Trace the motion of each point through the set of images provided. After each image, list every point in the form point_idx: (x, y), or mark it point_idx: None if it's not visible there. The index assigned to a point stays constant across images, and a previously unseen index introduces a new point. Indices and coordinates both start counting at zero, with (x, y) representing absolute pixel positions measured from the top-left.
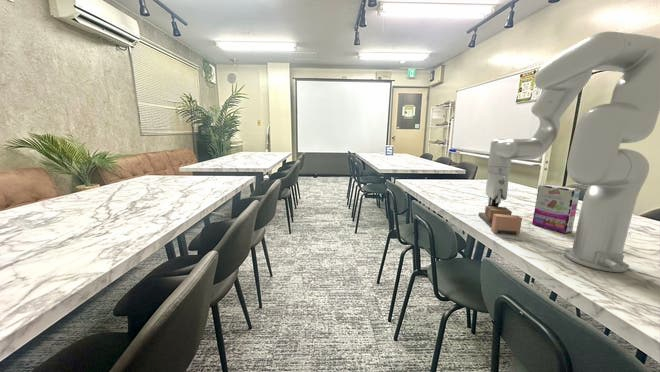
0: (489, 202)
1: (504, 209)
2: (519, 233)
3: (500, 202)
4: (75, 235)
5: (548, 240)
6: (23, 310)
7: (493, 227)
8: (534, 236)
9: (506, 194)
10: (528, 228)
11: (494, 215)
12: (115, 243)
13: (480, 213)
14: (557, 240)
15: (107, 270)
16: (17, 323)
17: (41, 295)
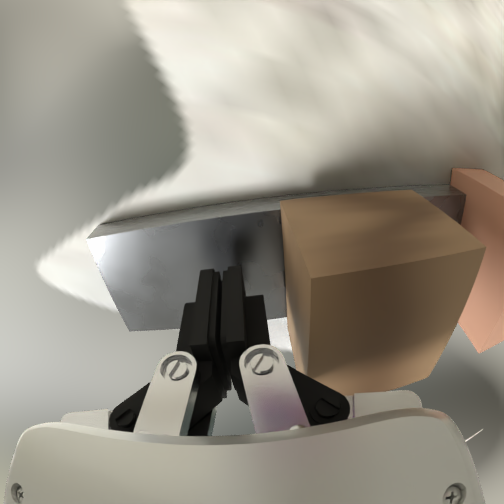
0: (215, 413)
1: (425, 302)
2: (491, 174)
3: (417, 399)
4: None
5: (497, 53)
6: (474, 435)
7: None
8: (476, 85)
9: (478, 484)
10: (334, 22)
11: (489, 343)
12: None
13: (154, 327)
14: (481, 7)
15: None
16: (482, 429)
17: (465, 441)
